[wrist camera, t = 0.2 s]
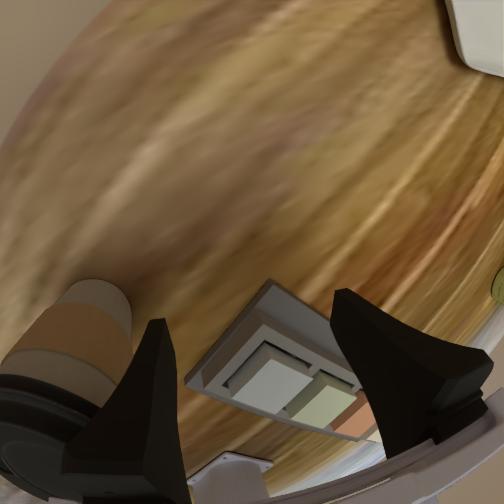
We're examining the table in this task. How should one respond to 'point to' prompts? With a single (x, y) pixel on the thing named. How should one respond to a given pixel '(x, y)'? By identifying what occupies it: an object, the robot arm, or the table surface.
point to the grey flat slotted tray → (280, 337)
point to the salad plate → (479, 33)
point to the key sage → (320, 401)
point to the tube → (499, 287)
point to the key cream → (373, 433)
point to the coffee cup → (61, 382)
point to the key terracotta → (354, 417)
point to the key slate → (269, 379)
